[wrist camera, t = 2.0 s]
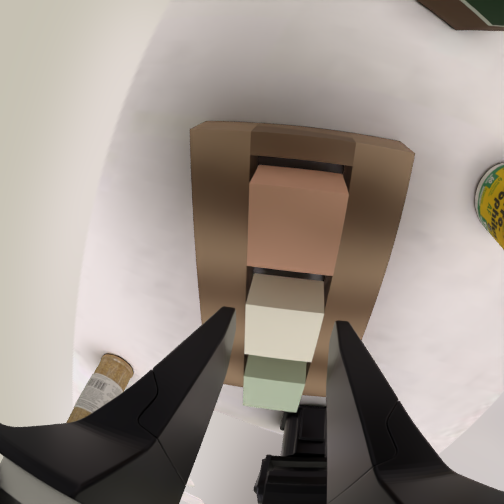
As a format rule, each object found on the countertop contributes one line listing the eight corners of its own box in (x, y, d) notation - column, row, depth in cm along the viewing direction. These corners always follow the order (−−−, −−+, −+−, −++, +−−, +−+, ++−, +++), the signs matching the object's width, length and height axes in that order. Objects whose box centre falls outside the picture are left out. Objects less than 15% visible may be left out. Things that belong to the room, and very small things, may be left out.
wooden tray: (336, 372, 29) (336, 397, 26) (216, 357, 30) (208, 381, 27) (400, 141, 17) (414, 153, 14) (206, 121, 18) (189, 129, 16)
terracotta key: (330, 245, 18) (333, 275, 16) (255, 237, 19) (246, 265, 16) (342, 173, 16) (348, 194, 13) (259, 164, 16) (249, 183, 14)
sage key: (299, 383, 26) (296, 412, 23) (249, 377, 26) (243, 405, 24) (307, 352, 23) (305, 383, 21) (250, 345, 24) (243, 376, 21)
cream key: (312, 329, 22) (311, 362, 19) (252, 322, 22) (244, 353, 20) (323, 281, 19) (324, 313, 17) (254, 272, 20) (245, 304, 17)
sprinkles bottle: (104, 366, 36) (60, 448, 25) (101, 347, 33) (50, 436, 22) (135, 380, 36) (94, 466, 25) (134, 362, 34) (88, 457, 22)
